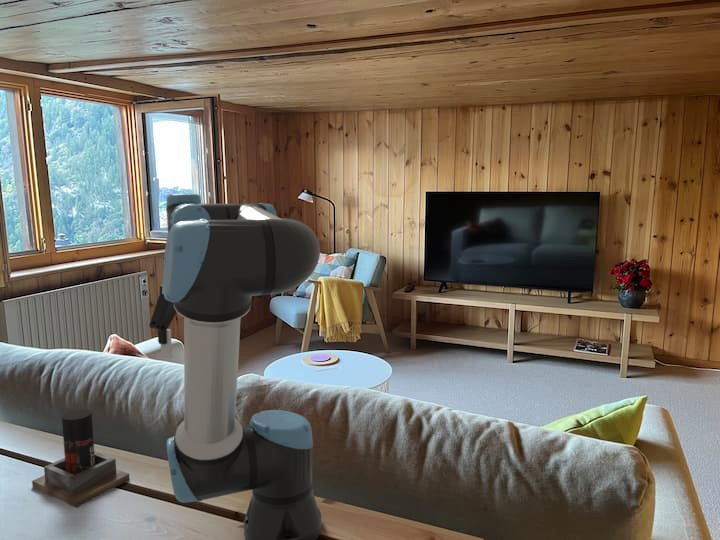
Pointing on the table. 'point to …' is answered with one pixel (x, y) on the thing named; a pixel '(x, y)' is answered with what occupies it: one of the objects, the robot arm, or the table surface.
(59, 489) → the socket stand
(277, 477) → the robot arm
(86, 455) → the deodorant
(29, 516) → the table surface
